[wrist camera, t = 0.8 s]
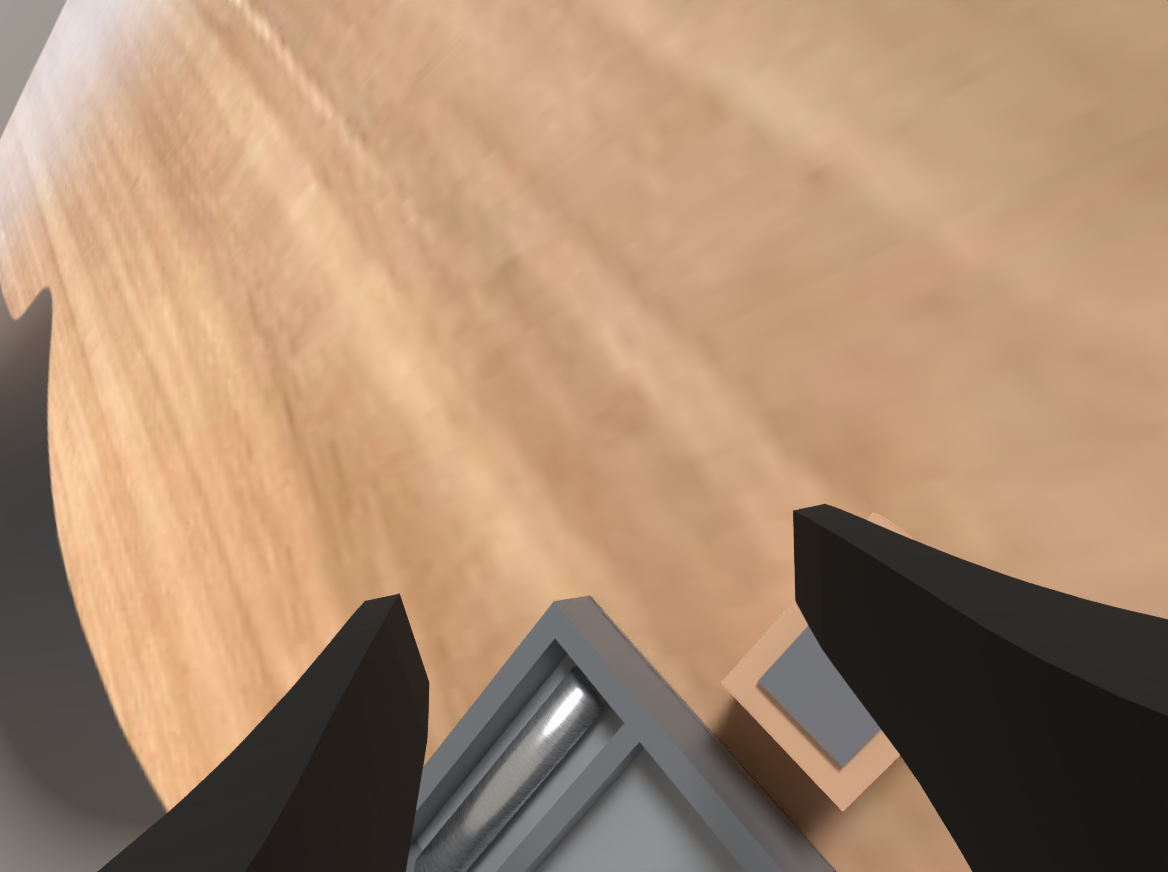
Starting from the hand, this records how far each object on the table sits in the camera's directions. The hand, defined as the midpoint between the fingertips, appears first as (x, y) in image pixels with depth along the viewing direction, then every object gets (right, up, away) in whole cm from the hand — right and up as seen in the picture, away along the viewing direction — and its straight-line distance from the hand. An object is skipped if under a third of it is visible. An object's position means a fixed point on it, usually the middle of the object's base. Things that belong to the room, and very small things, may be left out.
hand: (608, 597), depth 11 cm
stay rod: (-3, -12, +16) cm, 20 cm away
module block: (+10, -4, +10) cm, 15 cm away
